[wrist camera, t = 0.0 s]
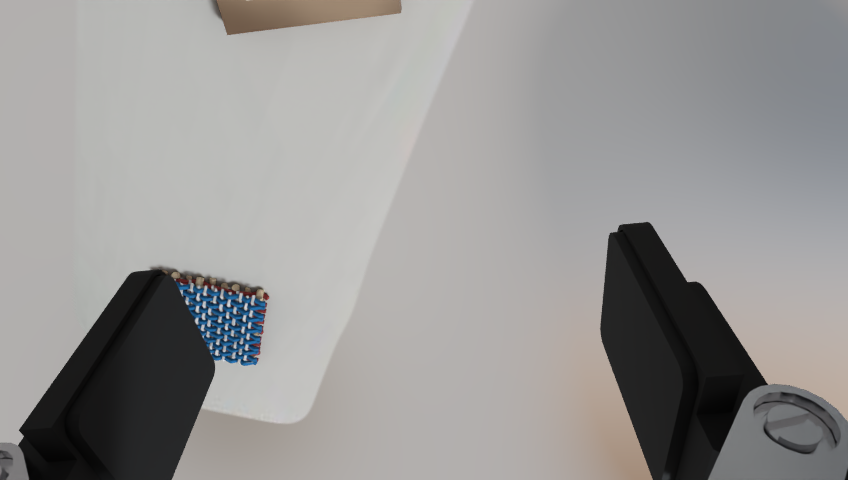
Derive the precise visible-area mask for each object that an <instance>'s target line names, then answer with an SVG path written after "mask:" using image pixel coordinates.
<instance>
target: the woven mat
mask: <svg viewBox="0 0 848 480" xmlns="http://www.w3.org/2000/svg"><path fill="white" fill-rule="evenodd" d="M162 271H163V272H165V274H166V275H168V271H164V270H162ZM171 276H172V277H173V278H174V280H175V282H176V284H177V286H178V288H179V290H180V292H181V294H182V296H183V298H184V300H185V302H186V304H187V306H188V308H189V310H190V312H191V314H192V316H193V318H194V320H195V322H196V324H197V326H198V328H199V330H200V333H201V335H202V337H203V339H204V341H205V343H206V345H207V347H208V349H209V351H210V353H211V355H212V357H213V359H214V360H221V359H222V361H224V360H226V361H228V362H229V363H235V362H237V363H238V364H240V363H241V365H244V366H247V365H251V364H254V365H256V364H257V362H258V359H259V358H255V355H259V354H260V345H261V342H260V341H261V337H260V336H258V333H259V334H263V326H262V325H260V324H264V318H265V314H261V313H266V309H265V307H266V306H267V303H265V301H263V299H266V300H268V299H269V296H268V295H267V294H265V293H264V290H260V289H257V291H256V292H252V293H251V290H250V288H246V287H245V291H240V287H239V285H237V284H234V285H233V287H232V289H233V290H230V289H228V285H227V284H226V283H222V284H221V287H218V286H216V279H215V278H210V281H209V284H208V283H207V282H206V281H204V278H202V277H197V279H193V280H192V276H186V280H184V279H180V273H178V272H173V274H172V275H171ZM180 284H181V285H180ZM184 284H186V285H184ZM193 284H195V285H193ZM232 294H233V295H232ZM207 295H209V296H208V297H207ZM250 297H251V298H250ZM255 297H256V298H255ZM254 305H256V306H254ZM227 306H228V307H227ZM195 311H196V312H195ZM237 314H238V315H237ZM249 316H250V317H249ZM216 321H218V322H216ZM236 323H237V326H236ZM201 330H202V331H201ZM205 330H206V331H205ZM215 331H216V333H215ZM250 339H251V340H250ZM227 340H228V341H227ZM212 346H213V347H214V348H215V349H213V348H212ZM257 346H259V347H257ZM248 349H250V351H249V350H248ZM213 353H214V354H213ZM215 354H216V355H215ZM219 354H220V356H219ZM232 357H233V359H232ZM235 357H236V358H235ZM243 359H244V360H243ZM224 362H225V361H224Z"/></svg>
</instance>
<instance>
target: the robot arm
mask: <svg viewBox="0 0 848 480" xmlns="http://www.w3.org/2000/svg"><path fill="white" fill-rule="evenodd" d="M600 329H601V337H602V342H603V345H604V348H605V351H606V353H607V356H608V359H609V362H610V364H611V367H612V370H613V373H614V375H615V378H616V381H617V383H618V386H619V389H620V392H621V394H622V397H623V400H624V402H625V405H626V408H627V411H628V413H629V416H630V419H631V421H632V424H633V427H634V430H635V432H636V435H637V438H638V440H639V443H640V446H641V449H642V451H643V454H644V457H645V459H646V462H647V465H648V468H649V470H650V473H651V476H652V478H653V480H848V422H847V420H846V419H845V418H844V417H843V416H842V415H841V413H840V412H839V411H838V410H837V409H836V408H835V407H833V406H832V405H831V404H829V403H828V402H827V401H826V400H824V399H823V398H821V397H819V396H817V395H815V394H813V393H811V392H809V391H807V390H804V389H800V388H797V387H793V386H790V385H778V384H772V385H768V384H767V383H766V381H765V379H764V378H763V376H762V375H761V373H760V372H759V370H758V369H757V367H756V366H755V364H754V363H753V361H752V360H751V358H750V357H749V355H748V353H747V352H746V350H745V349H744V348H743V346H742V344H741V343H740V341H739V340H738V338H737V337H736V335H735V334H734V332H733V331H732V329H731V327H730V326H729V324H728V323H727V321H726V320H725V318H724V317H723V315H722V314H721V312H720V311H719V309H718V308H717V306H716V305H715V303H714V301H713V300H712V298H711V297H710V295H709V294H708V292H707V291H706V289H705V288H704V287H703V286H702V285H701V284H700V283H698V282H687V281H686V279H685V278H684V276H683V274H682V273H681V271H680V270H679V268H678V267H677V265H676V263H675V262H674V260H673V258H672V257H671V255H670V254H669V252H668V250H667V249H666V247H665V246H664V244H663V242H662V241H661V239H660V238H659V236H658V234H657V233H656V231H655V230H654V228H653V226H652V225H651V224H650V223H649V222H644V223H633V224H623V225H620V226H619V228H618V231H617V232H613V233H610V235H609V239H608V250H607V261H606V272H605V283H604V294H603V305H602V315H601V328H600ZM214 373H215V363H214V359H213V357H212V355H211V353H210V351H209V349H208V347H207V345H206V343H205V341H204V339H203V337H202V335H201V333H200V330H199V328H198V326H197V324H196V322H195V320H194V318H193V316H192V314H191V312H190V310H189V308H188V306H187V304H186V302H185V300H184V298H183V296H182V294H181V292H180V290H179V288H178V286H177V284H176V282H175V280H174V278H173V277H172V276H170V275H166V274H165V272H163V271H162V270H159V269H158V270H148V271H137V272H133V273H131V274H130V275H129V276H128V277H127V278H126V280H125V281H124V283H123V284H122V286H121V287H120V288H119V290H118V291H117V293H116V294H115V295H114V297H113V298H112V300H111V301H110V302H109V304H108V305H107V307H106V308H105V310H104V311H103V312H102V314H101V315H100V317H99V318H98V319H97V321H96V322H95V324H94V325H93V326H92V328H91V329H90V331H89V332H88V333H87V335H86V336H85V338H84V339H83V341H82V342H81V343H80V345H79V346H78V348H77V349H76V350H75V352H74V353H73V355H72V356H71V358H70V359H69V360H68V362H67V363H66V365H65V366H64V367H63V369H62V370H61V372H60V373H59V374H58V376H57V377H56V379H55V380H54V381H53V383H52V384H51V386H50V388H48V390H47V391H46V393H45V394H44V396H43V397H42V398H41V400H40V401H39V403H38V404H37V405H36V407H35V408H34V410H33V411H32V412H31V414H30V415H29V417H28V418H27V419H26V421H25V423H24V424H23V425H22V427H21V428H20V429H19V431H20V432H21V433H22V434H23V435H24V437H23V439H22V440H21V442H20V443H19V445H18V446H17V445H15V444H12V443H0V480H172V478H173V475H174V473H175V470H176V467H177V465H178V463H179V460H180V457H181V455H182V453H183V450H184V448H185V446H186V443H187V441H188V438H189V436H190V433H191V431H192V428H193V426H194V423H195V421H196V419H197V416H198V414H199V411H200V409H201V406H202V404H203V401H204V399H205V396H206V394H207V391H208V389H209V387H210V384H211V382H212V379H213V377H214Z"/></svg>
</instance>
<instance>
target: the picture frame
mask: <svg viewBox="0 0 848 480" xmlns="http://www.w3.org/2000/svg"><path fill="white" fill-rule="evenodd" d="M217 3H218V7H219V10H220V13H221V16H222V19H223V22H224V26H225V29H226V32H227V35H231V34H239V33H247V32H255V31H263V30H271V29H278V28H286V27H294V26H302V25H310V24H318V23H326V22H334V21H342V20H350V19H358V18H366V17H374V16H382V15H389V14H397V13H401V0H217Z"/></svg>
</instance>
